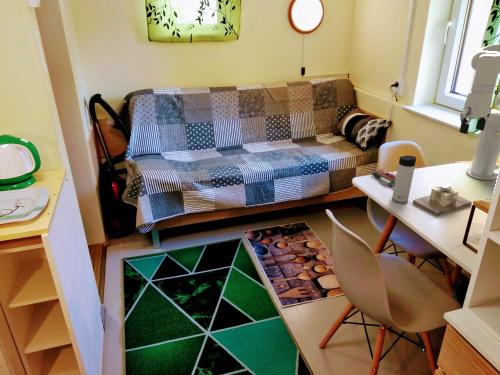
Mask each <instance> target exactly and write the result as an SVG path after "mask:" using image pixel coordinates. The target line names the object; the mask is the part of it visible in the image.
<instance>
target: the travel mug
mask: <svg viewBox="0 0 500 375" xmlns="http://www.w3.org/2000/svg"><path fill="white" fill-rule="evenodd" d="M398 160H399V161H398V164H397V170H396V174H397V175H396V180H395V185H394V187H393V192H392V197H391V199H392V201H393V202H394V203H396V204H404V205H405V204H407V203H408V202H409V196H410V192H411V187H412V183H413V178H414V177H413V176H414V173H415V168H416V163H417V162H416V161H417V157H416V156H413V155H403V156H399V159H398Z"/></svg>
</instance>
